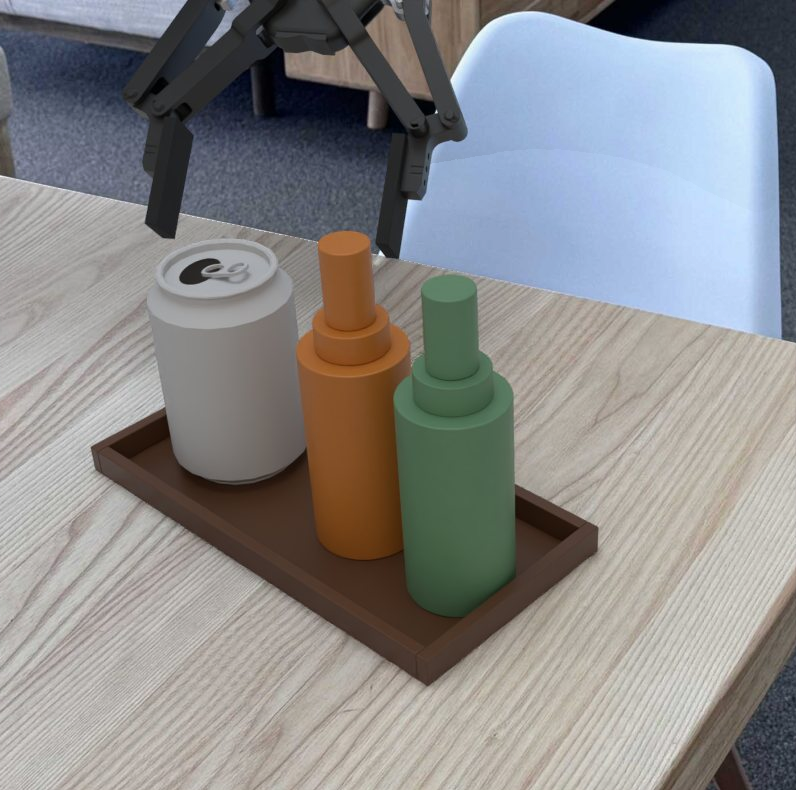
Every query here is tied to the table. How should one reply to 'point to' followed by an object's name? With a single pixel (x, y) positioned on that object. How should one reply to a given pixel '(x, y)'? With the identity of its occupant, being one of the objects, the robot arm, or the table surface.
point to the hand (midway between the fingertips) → (271, 242)
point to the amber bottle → (352, 405)
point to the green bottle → (455, 459)
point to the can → (228, 360)
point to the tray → (329, 573)
